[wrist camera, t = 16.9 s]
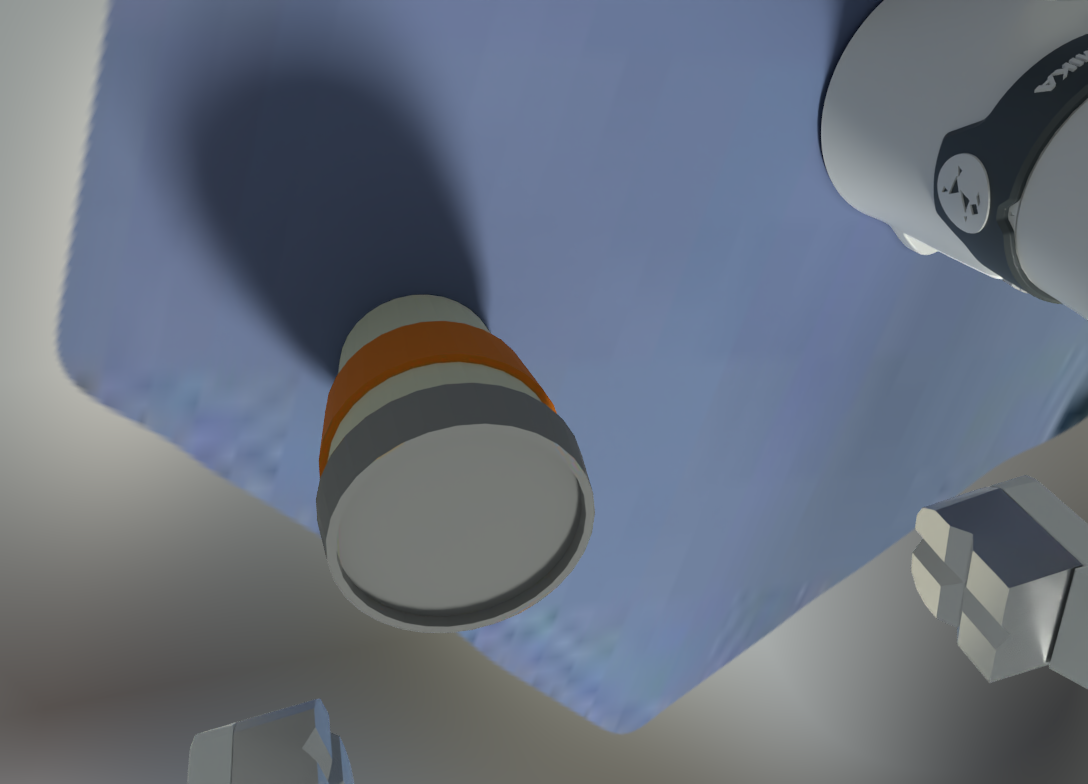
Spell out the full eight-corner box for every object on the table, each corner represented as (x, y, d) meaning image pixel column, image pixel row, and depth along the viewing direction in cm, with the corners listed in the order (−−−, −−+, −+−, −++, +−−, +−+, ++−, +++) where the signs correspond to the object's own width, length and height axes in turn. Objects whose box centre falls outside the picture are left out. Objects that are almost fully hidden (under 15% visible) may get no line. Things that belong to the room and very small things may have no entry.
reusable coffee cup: (541, 271, 51) (628, 419, 39) (506, 452, 57) (571, 629, 45) (311, 256, 47) (327, 415, 35) (301, 453, 53) (311, 646, 41)
